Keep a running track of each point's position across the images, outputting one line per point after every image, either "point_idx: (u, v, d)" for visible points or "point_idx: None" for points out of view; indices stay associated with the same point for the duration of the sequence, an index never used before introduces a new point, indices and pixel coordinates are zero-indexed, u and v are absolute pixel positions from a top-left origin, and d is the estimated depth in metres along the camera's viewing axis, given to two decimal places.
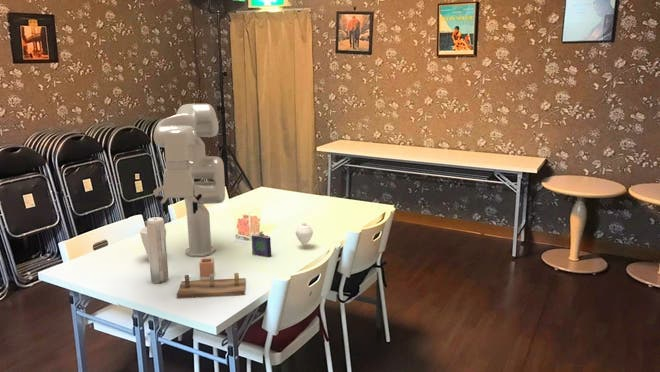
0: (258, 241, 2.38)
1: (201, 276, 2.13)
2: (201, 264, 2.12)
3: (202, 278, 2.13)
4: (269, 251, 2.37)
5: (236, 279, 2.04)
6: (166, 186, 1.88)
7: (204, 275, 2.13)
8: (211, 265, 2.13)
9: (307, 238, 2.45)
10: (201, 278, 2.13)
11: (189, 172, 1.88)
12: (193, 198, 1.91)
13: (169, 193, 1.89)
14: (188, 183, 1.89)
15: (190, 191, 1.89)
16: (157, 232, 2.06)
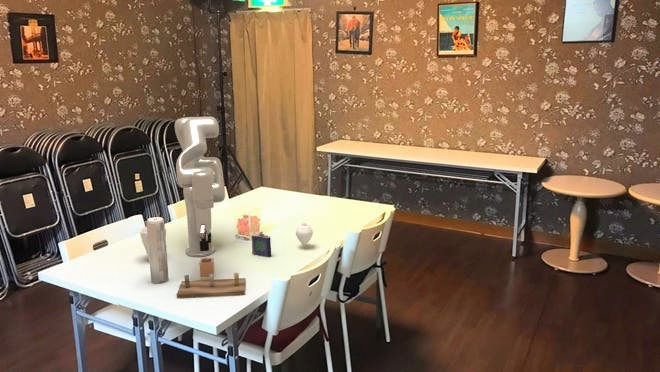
0: (258, 241, 2.38)
1: (201, 276, 2.13)
2: (201, 264, 2.12)
3: (202, 278, 2.13)
4: (269, 251, 2.37)
5: (236, 279, 2.04)
6: (209, 223, 2.07)
7: (204, 275, 2.13)
8: (211, 265, 2.13)
9: (307, 238, 2.45)
10: (201, 278, 2.13)
11: None
12: None
13: (209, 229, 2.08)
14: None
15: None
16: (157, 232, 2.06)
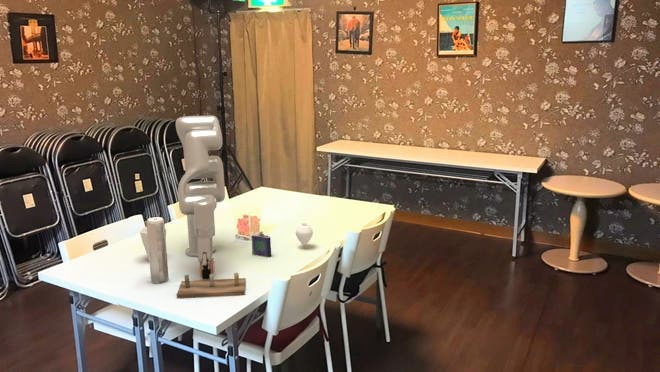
0: (258, 241, 2.38)
1: (201, 276, 2.13)
2: (201, 264, 2.12)
3: (202, 278, 2.13)
4: (269, 251, 2.37)
5: (236, 279, 2.04)
6: (210, 251, 2.10)
7: None
8: (211, 265, 2.13)
9: (307, 238, 2.45)
10: (201, 278, 2.13)
11: None
12: None
13: (211, 256, 2.12)
14: None
15: None
16: (157, 232, 2.06)
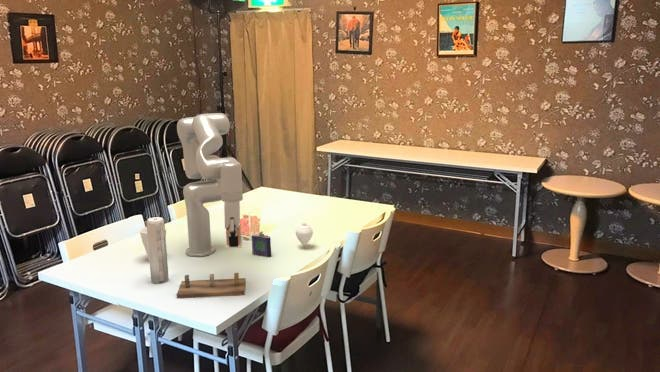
0: (258, 241, 2.38)
1: (228, 244, 1.99)
2: (228, 231, 1.98)
3: None
4: (269, 251, 2.37)
5: (236, 279, 2.04)
6: (238, 217, 1.96)
7: None
8: (238, 232, 1.99)
9: (307, 238, 2.45)
10: (228, 246, 1.99)
11: None
12: None
13: (238, 223, 1.97)
14: None
15: None
16: (157, 232, 2.06)
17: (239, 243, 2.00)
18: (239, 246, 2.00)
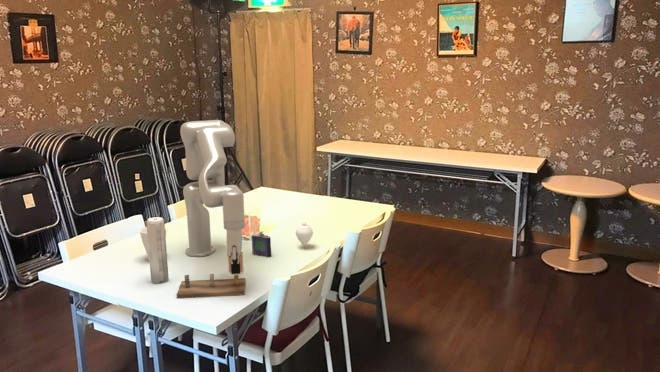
0: (258, 241, 2.38)
1: (230, 271, 2.01)
2: (230, 258, 2.00)
3: None
4: (269, 251, 2.37)
5: (236, 279, 2.04)
6: (240, 244, 1.98)
7: None
8: (240, 259, 2.01)
9: (307, 238, 2.45)
10: (230, 273, 2.02)
11: None
12: None
13: (240, 250, 2.00)
14: None
15: None
16: (157, 232, 2.06)
17: (241, 270, 2.02)
18: (241, 273, 2.02)
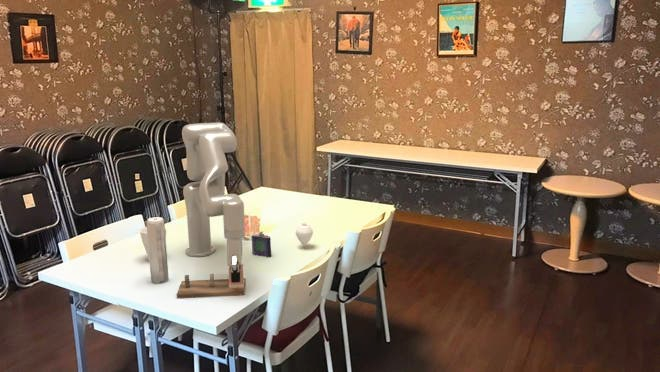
0: (258, 241, 2.38)
1: (230, 284, 2.03)
2: (230, 271, 2.02)
3: (231, 286, 2.03)
4: (269, 251, 2.37)
5: None
6: (240, 254, 1.99)
7: None
8: (241, 272, 2.02)
9: (307, 238, 2.45)
10: (230, 286, 2.03)
11: None
12: None
13: (241, 259, 2.01)
14: None
15: None
16: (157, 232, 2.06)
17: (242, 283, 2.03)
18: (241, 286, 2.03)
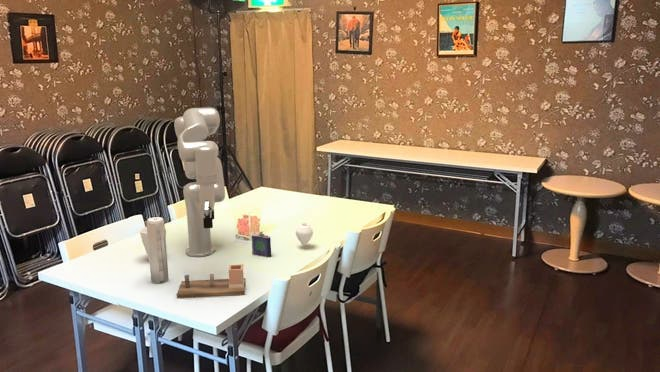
0: (258, 241, 2.38)
1: (230, 284, 2.03)
2: (230, 271, 2.02)
3: (231, 286, 2.03)
4: (269, 251, 2.37)
5: None
6: (213, 200, 2.00)
7: (233, 282, 2.03)
8: (241, 272, 2.02)
9: (307, 238, 2.45)
10: (230, 286, 2.03)
11: None
12: None
13: (213, 206, 2.01)
14: None
15: None
16: (157, 232, 2.06)
17: (242, 283, 2.03)
18: (241, 286, 2.03)
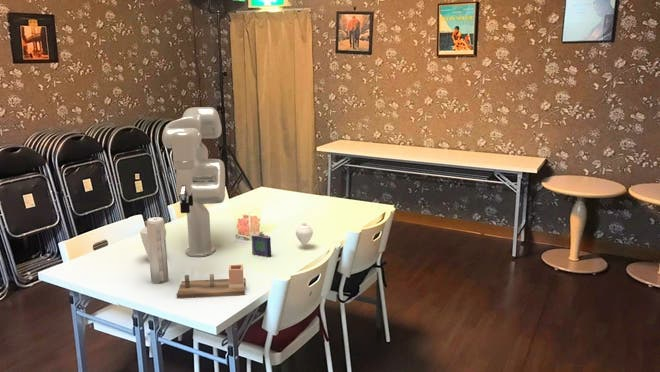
0: (258, 241, 2.38)
1: (230, 284, 2.03)
2: (230, 271, 2.02)
3: (231, 286, 2.03)
4: (269, 251, 2.37)
5: None
6: (190, 185, 2.02)
7: (233, 282, 2.03)
8: (241, 272, 2.02)
9: (307, 238, 2.45)
10: (230, 286, 2.03)
11: None
12: None
13: (190, 191, 2.04)
14: None
15: None
16: (157, 232, 2.06)
17: (242, 283, 2.03)
18: (241, 286, 2.03)
